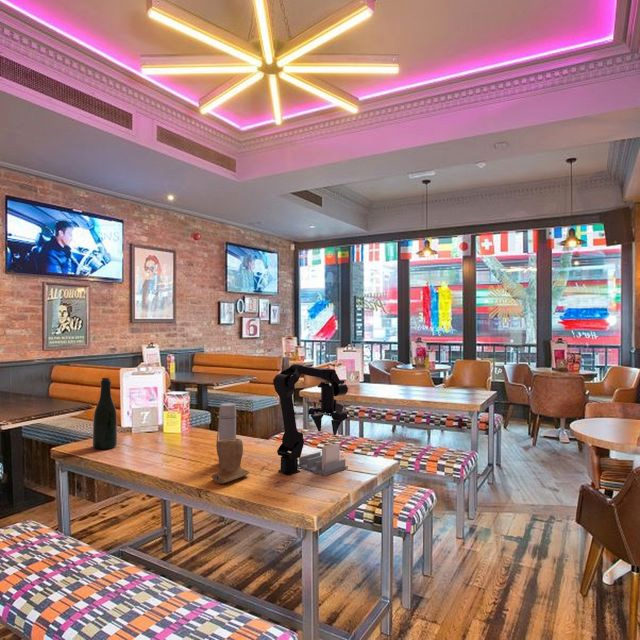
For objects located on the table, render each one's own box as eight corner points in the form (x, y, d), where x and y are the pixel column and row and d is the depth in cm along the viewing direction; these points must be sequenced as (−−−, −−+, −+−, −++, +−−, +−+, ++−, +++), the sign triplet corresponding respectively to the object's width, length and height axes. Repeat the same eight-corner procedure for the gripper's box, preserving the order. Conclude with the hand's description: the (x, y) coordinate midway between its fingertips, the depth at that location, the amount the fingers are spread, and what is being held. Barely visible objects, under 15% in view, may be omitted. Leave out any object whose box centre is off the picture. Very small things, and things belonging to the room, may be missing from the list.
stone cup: (231, 470, 188) (232, 433, 188) (253, 476, 182) (254, 437, 182) (202, 480, 176) (203, 440, 176) (224, 487, 169) (225, 445, 169)
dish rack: (324, 475, 183) (324, 465, 183) (296, 466, 195) (296, 457, 195) (347, 468, 193) (347, 458, 193) (320, 459, 204) (320, 451, 205)
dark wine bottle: (119, 447, 220) (120, 377, 220) (95, 451, 213) (97, 379, 214) (113, 443, 228) (114, 375, 228) (89, 446, 221) (90, 377, 222)
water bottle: (239, 462, 199) (240, 403, 200) (228, 467, 192) (229, 406, 193) (222, 459, 203) (222, 402, 204) (210, 464, 196) (211, 404, 196)
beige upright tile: (326, 470, 187) (326, 448, 187) (321, 469, 189) (322, 447, 189) (339, 466, 193) (339, 444, 193) (335, 465, 194) (335, 443, 194)
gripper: (355, 398, 202) (355, 434, 202) (325, 393, 216) (324, 427, 215) (338, 400, 194) (338, 438, 194) (307, 395, 208) (307, 430, 207)
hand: (327, 433), depth 203 cm, fingers open, 9 cm apart
